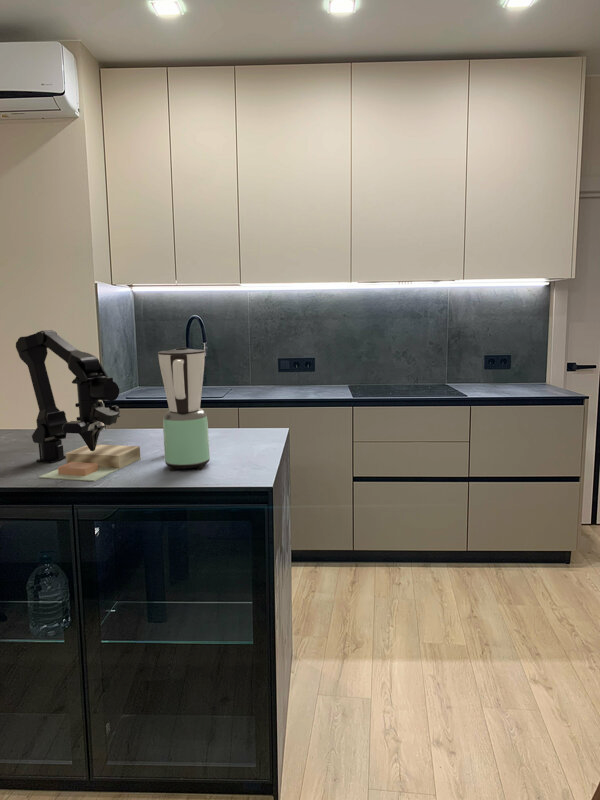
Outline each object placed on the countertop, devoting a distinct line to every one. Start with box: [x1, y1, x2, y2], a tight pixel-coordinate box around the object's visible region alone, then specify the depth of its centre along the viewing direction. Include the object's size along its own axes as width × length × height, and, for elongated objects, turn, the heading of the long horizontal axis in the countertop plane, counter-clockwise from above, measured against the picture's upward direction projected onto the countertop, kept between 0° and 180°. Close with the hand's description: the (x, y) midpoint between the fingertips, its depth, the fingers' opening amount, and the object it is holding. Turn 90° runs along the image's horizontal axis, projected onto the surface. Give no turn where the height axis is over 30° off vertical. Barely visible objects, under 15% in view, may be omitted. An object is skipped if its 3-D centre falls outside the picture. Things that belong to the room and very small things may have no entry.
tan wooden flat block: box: [65, 444, 141, 470], centre depth 184 cm, size 18×12×4 cm, turn 75°
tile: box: [57, 462, 98, 476], centre depth 173 cm, size 9×6×2 cm, turn 74°
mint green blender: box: [157, 347, 211, 472], centre depth 174 cm, size 19×13×35 cm
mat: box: [38, 467, 120, 482], centre depth 173 cm, size 18×12×1 cm, turn 75°
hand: (92, 450), depth 179 cm, fingers closed
